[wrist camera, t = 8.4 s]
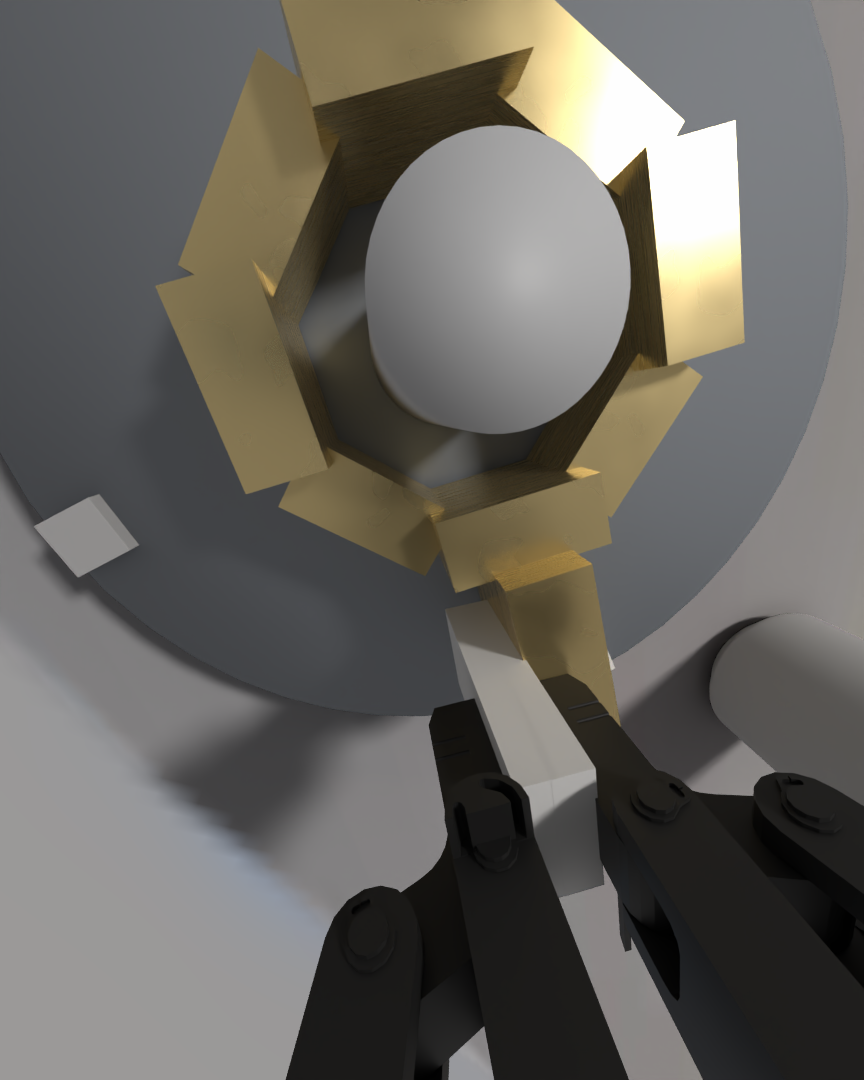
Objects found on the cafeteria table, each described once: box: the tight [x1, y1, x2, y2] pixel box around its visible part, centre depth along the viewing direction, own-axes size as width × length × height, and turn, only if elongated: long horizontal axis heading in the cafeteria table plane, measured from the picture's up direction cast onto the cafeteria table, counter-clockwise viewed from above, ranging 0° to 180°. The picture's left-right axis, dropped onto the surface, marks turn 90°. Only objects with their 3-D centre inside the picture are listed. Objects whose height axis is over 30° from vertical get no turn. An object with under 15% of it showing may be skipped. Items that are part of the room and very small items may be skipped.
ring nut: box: [155, 0, 745, 727], centre depth 11 cm, size 16×11×5 cm
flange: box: [0, 0, 848, 716], centre depth 11 cm, size 26×26×8 cm
